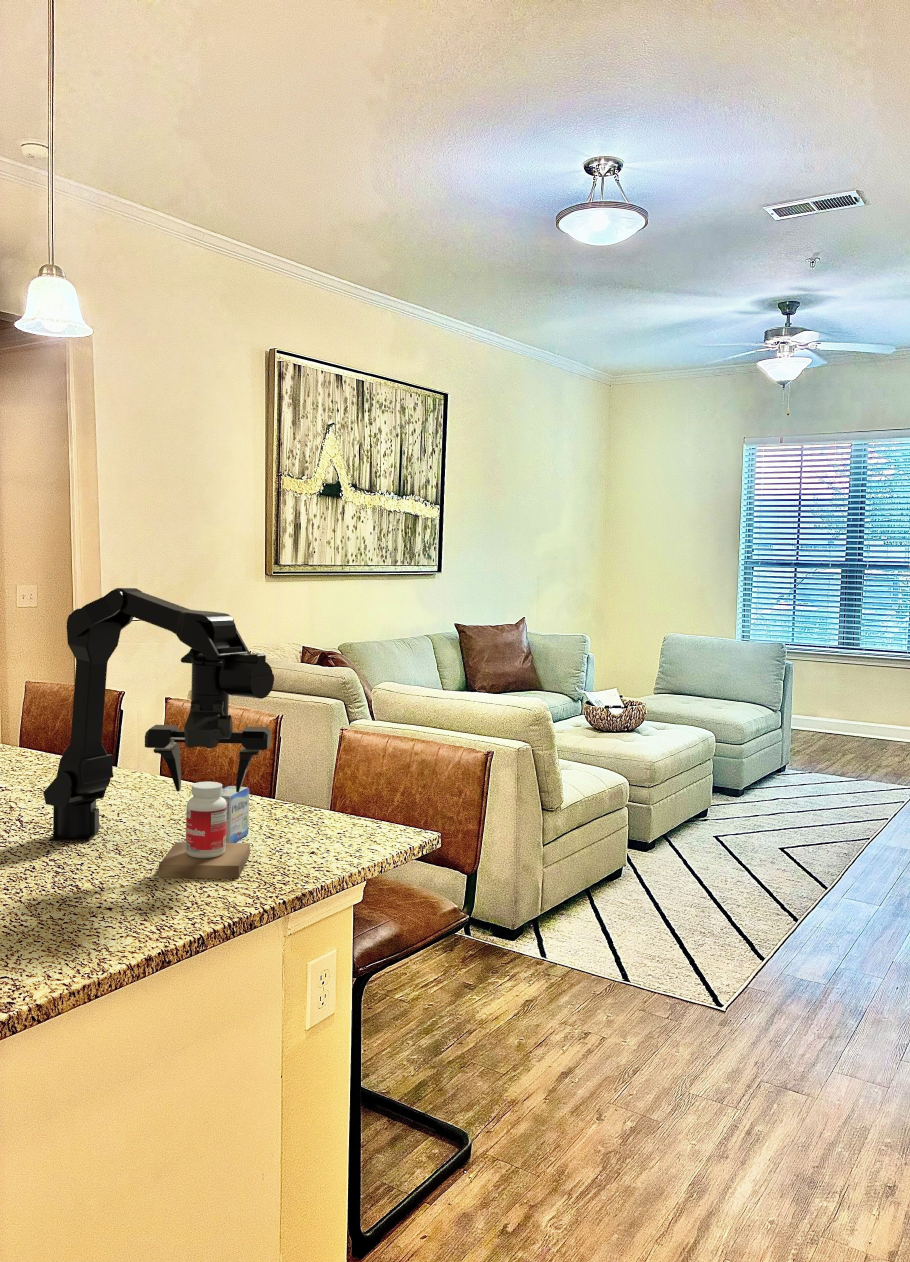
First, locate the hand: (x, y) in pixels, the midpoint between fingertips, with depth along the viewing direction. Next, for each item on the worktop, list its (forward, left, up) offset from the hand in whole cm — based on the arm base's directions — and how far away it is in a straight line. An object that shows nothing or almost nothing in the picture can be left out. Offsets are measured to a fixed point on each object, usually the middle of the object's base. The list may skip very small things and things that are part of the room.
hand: (208, 791), depth 149 cm
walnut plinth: (0, 0, -12) cm, 12 cm away
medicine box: (+1, +15, -12) cm, 19 cm away
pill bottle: (0, 0, -10) cm, 10 cm away
